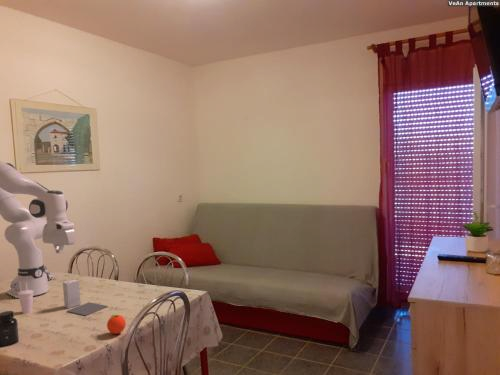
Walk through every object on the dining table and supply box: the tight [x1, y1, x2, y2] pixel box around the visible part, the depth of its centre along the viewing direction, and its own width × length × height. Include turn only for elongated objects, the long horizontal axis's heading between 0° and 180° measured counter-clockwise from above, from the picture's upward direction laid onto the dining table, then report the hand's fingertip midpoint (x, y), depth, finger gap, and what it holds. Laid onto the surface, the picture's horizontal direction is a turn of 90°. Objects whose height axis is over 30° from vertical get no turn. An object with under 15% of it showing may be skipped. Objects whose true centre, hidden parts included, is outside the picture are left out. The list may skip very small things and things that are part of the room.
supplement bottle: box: [0, 310, 20, 348], centre depth 146 cm, size 7×7×12 cm
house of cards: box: [44, 266, 54, 281], centre depth 237 cm, size 9×9×8 cm
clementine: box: [106, 314, 127, 335], centre depth 152 cm, size 8×7×7 cm
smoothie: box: [18, 282, 34, 314], centre depth 179 cm, size 6×6×14 cm
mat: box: [66, 302, 108, 317], centre depth 180 cm, size 13×12×1 cm
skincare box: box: [62, 279, 82, 309], centre depth 185 cm, size 6×4×12 cm
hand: (59, 253), depth 187 cm, fingers closed
